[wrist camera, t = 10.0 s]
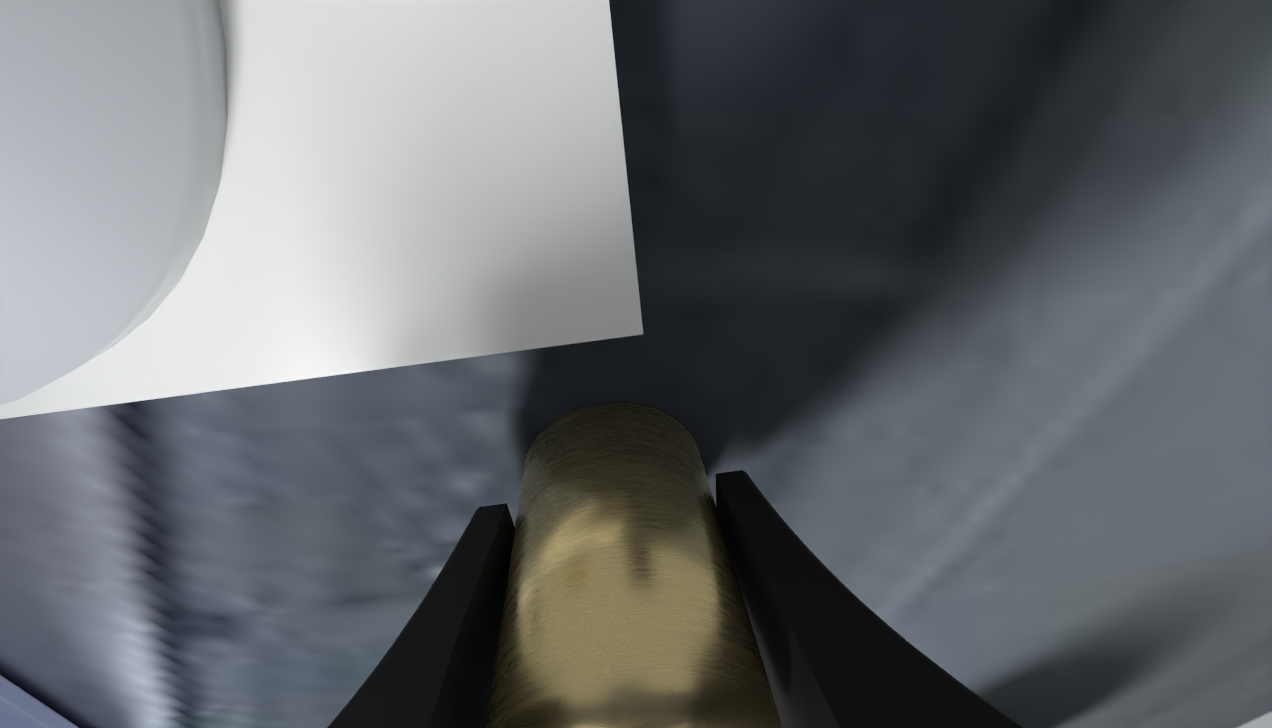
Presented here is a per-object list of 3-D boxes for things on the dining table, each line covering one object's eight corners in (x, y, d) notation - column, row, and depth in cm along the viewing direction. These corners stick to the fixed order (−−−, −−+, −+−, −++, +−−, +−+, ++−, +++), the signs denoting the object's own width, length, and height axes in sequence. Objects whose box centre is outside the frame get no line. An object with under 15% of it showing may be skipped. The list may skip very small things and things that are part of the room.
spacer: (703, 521, 14) (774, 790, 9) (543, 544, 14) (520, 830, 9) (697, 390, 11) (791, 652, 6) (504, 416, 11) (440, 704, 6)
